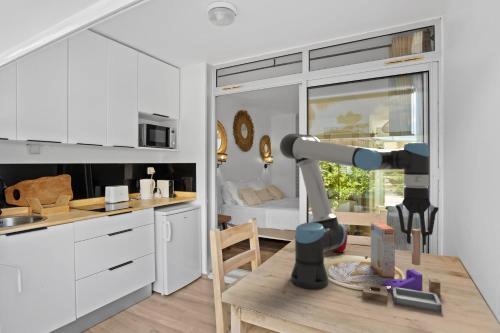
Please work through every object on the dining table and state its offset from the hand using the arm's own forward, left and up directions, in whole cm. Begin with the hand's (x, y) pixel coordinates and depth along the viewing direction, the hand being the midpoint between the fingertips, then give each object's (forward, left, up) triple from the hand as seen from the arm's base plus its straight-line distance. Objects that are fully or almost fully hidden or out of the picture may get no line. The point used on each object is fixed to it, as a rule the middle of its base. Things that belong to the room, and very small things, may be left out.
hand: (416, 253), depth 100 cm
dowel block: (-13, 0, -17) cm, 22 cm away
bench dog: (+7, +11, -17) cm, 22 cm away
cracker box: (-10, +27, -18) cm, 33 cm away
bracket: (-4, +11, -18) cm, 21 cm away
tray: (0, 0, -17) cm, 17 cm away
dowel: (0, 0, -4) cm, 4 cm away
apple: (-32, +49, -18) cm, 61 cm away
